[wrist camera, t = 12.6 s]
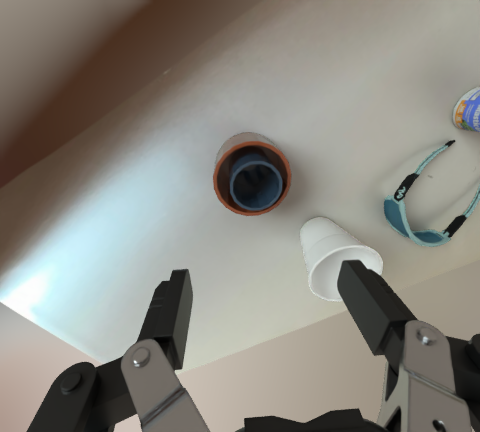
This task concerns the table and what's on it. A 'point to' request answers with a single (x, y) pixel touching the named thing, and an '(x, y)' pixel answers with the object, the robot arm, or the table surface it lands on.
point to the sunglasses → (398, 216)
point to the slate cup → (253, 179)
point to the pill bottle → (468, 111)
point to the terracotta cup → (222, 170)
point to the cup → (332, 255)
